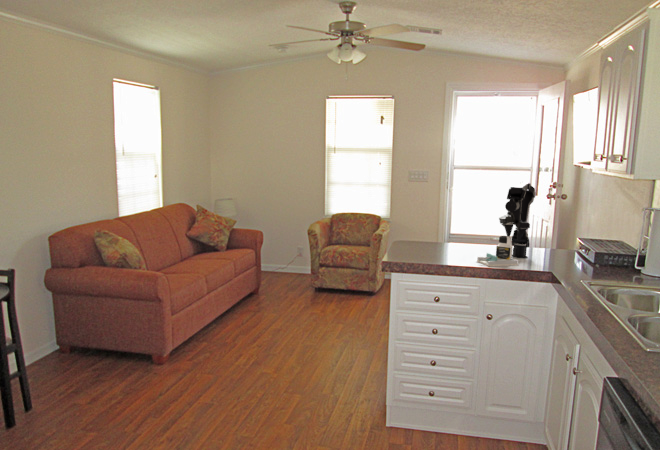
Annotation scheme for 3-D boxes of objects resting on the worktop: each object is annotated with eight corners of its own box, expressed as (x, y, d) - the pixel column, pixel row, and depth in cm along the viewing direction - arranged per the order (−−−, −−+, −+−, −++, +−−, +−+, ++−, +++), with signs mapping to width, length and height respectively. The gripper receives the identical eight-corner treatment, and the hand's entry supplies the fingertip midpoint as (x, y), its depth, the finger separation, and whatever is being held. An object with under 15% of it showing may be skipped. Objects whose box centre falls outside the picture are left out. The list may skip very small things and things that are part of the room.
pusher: (488, 259, 273) (488, 253, 273) (496, 263, 265) (497, 256, 265) (474, 260, 271) (475, 253, 271) (482, 263, 263) (483, 257, 263)
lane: (504, 260, 278) (505, 255, 278) (517, 265, 267) (518, 260, 266) (477, 261, 274) (477, 256, 274) (489, 266, 262) (489, 261, 262)
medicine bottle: (495, 258, 269) (497, 236, 268) (497, 256, 276) (499, 234, 274) (509, 260, 266) (511, 238, 264) (511, 257, 272) (513, 236, 271)
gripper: (492, 208, 276) (490, 236, 279) (512, 212, 258) (510, 242, 261) (510, 207, 279) (508, 235, 281) (531, 212, 261) (529, 241, 264)
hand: (513, 238), depth 272 cm, fingers open, 9 cm apart
